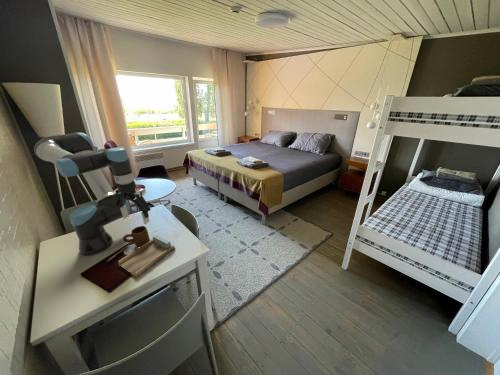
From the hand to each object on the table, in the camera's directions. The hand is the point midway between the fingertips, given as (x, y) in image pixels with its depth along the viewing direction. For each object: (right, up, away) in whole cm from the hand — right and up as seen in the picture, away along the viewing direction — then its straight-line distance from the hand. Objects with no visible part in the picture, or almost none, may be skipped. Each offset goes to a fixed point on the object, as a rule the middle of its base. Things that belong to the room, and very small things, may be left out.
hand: (136, 220), depth 104 cm
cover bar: (+10, -15, +8) cm, 19 cm away
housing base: (+5, -19, +1) cm, 20 cm away
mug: (-4, -16, +10) cm, 19 cm away
